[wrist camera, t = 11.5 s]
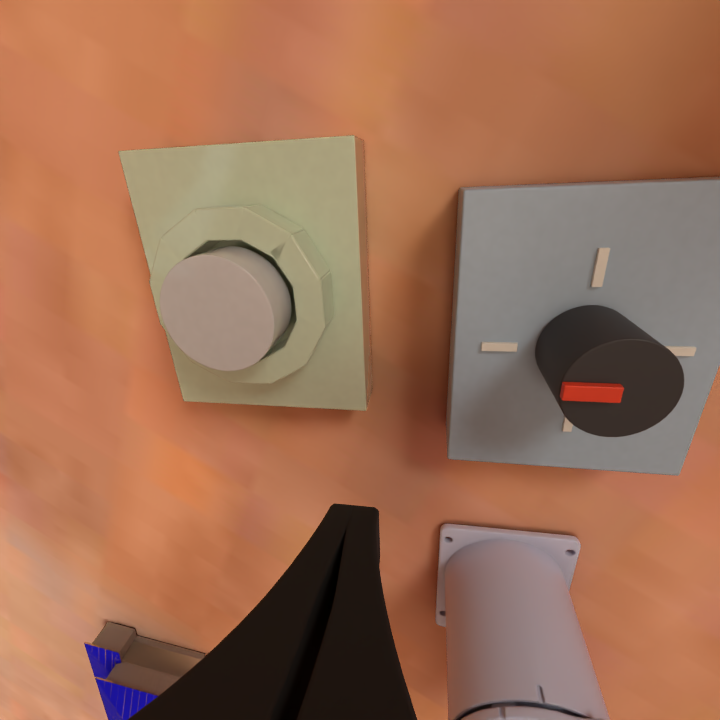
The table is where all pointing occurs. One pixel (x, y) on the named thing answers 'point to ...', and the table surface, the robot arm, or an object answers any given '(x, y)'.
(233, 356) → the button
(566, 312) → the lock dial
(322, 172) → the button base
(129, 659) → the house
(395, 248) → the table surface
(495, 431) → the dial panel
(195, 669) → the robot arm
